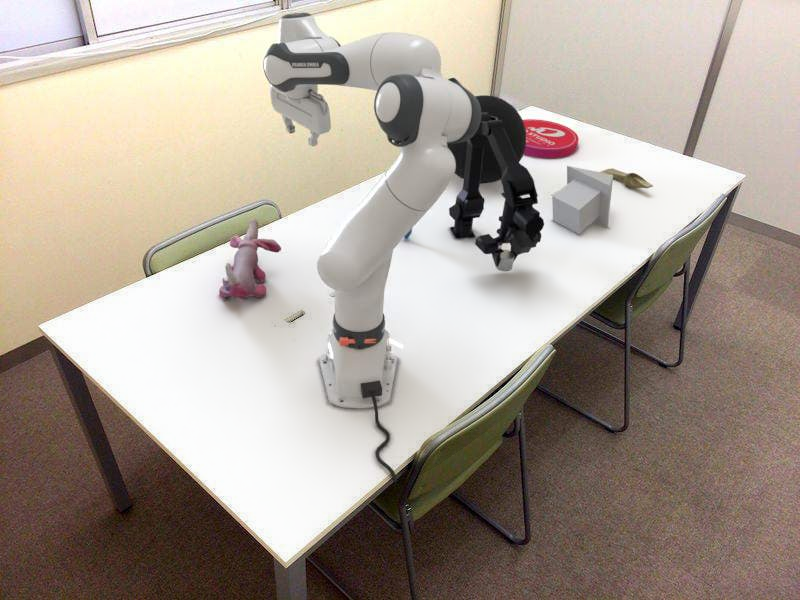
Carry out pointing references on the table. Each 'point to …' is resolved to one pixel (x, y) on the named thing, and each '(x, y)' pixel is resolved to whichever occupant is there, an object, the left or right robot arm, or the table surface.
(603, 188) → the grey flanged block
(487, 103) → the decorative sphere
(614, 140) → the table surface
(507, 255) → the tin
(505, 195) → the right robot arm
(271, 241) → the toy
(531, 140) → the sign
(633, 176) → the tool
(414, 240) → the table surface
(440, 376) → the table surface
